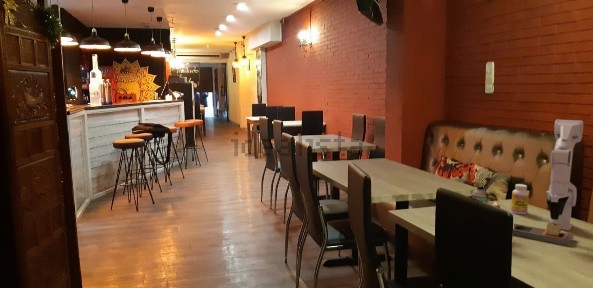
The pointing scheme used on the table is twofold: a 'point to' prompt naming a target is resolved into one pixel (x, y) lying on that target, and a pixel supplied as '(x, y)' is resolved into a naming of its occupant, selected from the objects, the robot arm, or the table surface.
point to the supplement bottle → (520, 199)
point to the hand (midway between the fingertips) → (556, 216)
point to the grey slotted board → (542, 235)
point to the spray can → (480, 194)
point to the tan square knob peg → (553, 229)
